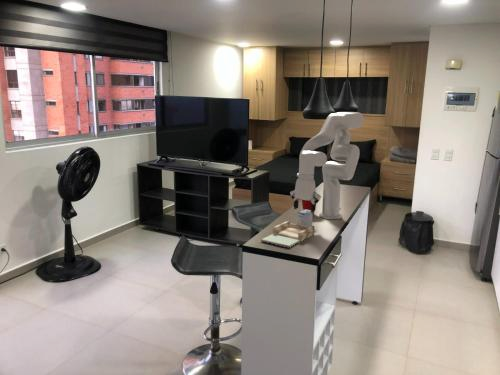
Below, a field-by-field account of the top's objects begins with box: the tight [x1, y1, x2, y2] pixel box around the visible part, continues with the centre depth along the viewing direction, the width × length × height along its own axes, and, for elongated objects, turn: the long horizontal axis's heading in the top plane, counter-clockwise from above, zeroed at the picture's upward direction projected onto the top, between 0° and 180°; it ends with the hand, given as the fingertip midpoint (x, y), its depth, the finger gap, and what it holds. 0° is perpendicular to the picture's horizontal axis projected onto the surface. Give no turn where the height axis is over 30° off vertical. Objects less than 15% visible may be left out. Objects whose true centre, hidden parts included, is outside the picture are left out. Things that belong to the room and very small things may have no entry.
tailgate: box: [260, 233, 301, 249], centre depth 189 cm, size 1×15×11 cm
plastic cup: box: [301, 196, 317, 216], centre depth 235 cm, size 11×11×12 cm
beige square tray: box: [272, 220, 316, 243], centre depth 198 cm, size 14×15×4 cm
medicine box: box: [296, 209, 314, 227], centre depth 211 cm, size 8×4×9 cm, turn 141°
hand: (304, 210), depth 209 cm, fingers open, 9 cm apart
